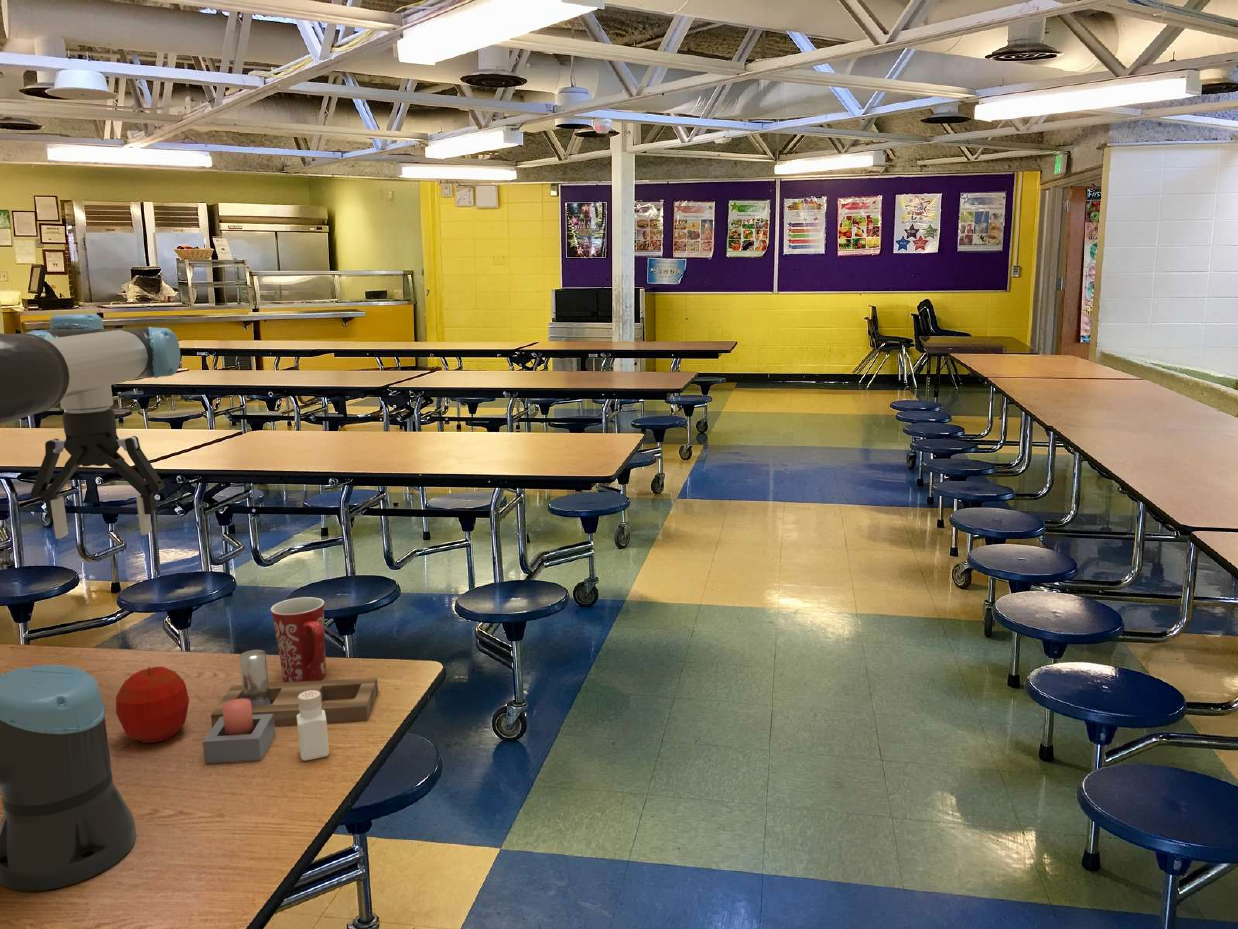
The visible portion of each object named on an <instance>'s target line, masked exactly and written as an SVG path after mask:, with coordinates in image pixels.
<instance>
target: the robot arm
mask: <svg viewBox="0 0 1238 929" xmlns="http://www.w3.org/2000/svg"><path fill="white" fill-rule="evenodd" d="M180 364H181V347H180V343H179V340H178V337H177V335H176V334H175V332H174V331H173V330H172V329H170V328H167V327H152V326H148V327H123V328H121V327H119V328H105V327H104V323H103V318H102V317H101V316H100V315H99V314H96V313H73V314H71V313H70V314H67V313H66V314H55V315H52V316H50V320H49V329H43V330H42V329H40V330H37V329H34V330H33V329H32V330H30V331H28V332H25V333H24V332H23V333H2V332H1V333H0V425H2V424H6V423H10V422H13V421H17V420H21V419H24V418H26V417H29V416H32V415H35V414H41V413H44V412H46V411H49V410H51V409H53V408H55V407H57V406H58V404H60V408H61V409H62V410H64V411H65V412H63V414H62V415H61V417H62V425H63V429H64V431H63V432H64V435H65V440H60V439H58V438H53V439H49V440H46V441H45V444H44V445H45V446H44V448H45V450H44V452H45V454H44V457H43V460H42V462H41V464H40V467H39V470H38V473H37V476H36V477H35V480H34V482H33V486H32V489H31V491H30V495H31V496H32V497H35V498H36V497H37V498H42V499H43V500H44V502H45V508H46V516H47V518H48V519H53V520H52V521H53V522H52V523H53V527H54V528H53V529H54V535H55V539H57V540H58V539H59V540H60V539H63V538H65V537H66V536H68V535H69V530H68V523H67V522H68V520H67V514H66V508H65V500H64V497H63V496H60V492H61V491H62V490H63V489H64V488H65V486H66V484H68V482H69V480H71V477H72V476H74V474H75V472H76V471H77V469H78V468H79V467H80V466H82V467H90V466H96V467H103V466H105V465H107V466H108V467H109V468H110V469H113V470H114V471H116V473H117V474H118V475H119V476H121V477H122V478H123V479H124V480H125V481H126V482H127V483H128V484H129V485H130V486H131V487H132V488H133V489H135V491H137V492H138V493H139V495H138V496H137V497H136V505H137V513H138V514H137V515H138V522H139V530H140V536H147V535H148V534H150V533H151V532H152V531H153V527H152V521H151V515H152V514H153V513H155V510H156V509H155V508H156V507H155V500H154V494H155V493H158V492H159V491H161V490H163V489H164V488H165V483H164V482H163V480H162V479H161V477H160V476H159V475H158V473H157V471H156V470H155V469H154V467H153V466H152V464H151V462H150V460H149V459H148V457H147V456H146V455H145V453H144V451H143V450H142V449H141V445H140V444H141V443H140V440H139V438H138V436H136V435H133V436H130V437H127V438H120V437H119V436H118V434H117V431H118V430H117V429H118V428H117V421H116V416H115V415H116V414H115V410H114V409H113V408H111V407H112V406H113V405H114V400H113V399H114V398H113V392H112V385H117V384H119V383H124V382H128V381H133V380H136V379H142V378H143V379H144V378H153V379H158V378H162V377H171V376H173V375H175V374H177V372H178V370H179V367H180ZM120 447H122V449H123V451H125V452H127V454H128V456H129V458H130V459H131V461H132V463H133V465H134V466H135V467H136V469H137V470H138V471H139V473H138V472H137V471H136V470H135V469H134V468H133V467H132V466H131V465H130V464H129V463H127V462H126V460H125V458H124V457H123V456H122V455H121V454H120V453H119V452H118V451H119V449H120ZM64 449H65V451H66V452H67V453H68V454H69V455H70V457H69V458H68V459H67V461H66V462H65V464H64V466H63V468H62V469H61V470H60V472H59V473H58V474H57V476H56V477H55V478H54V480H53V481H52V483H51V484H50V481H51V479H52V476H53V474H54V471H55V469H56V466H57V463H58V460H59V458H60V455H61V453H63V452H64ZM49 484H50V485H49ZM101 694H102V693H101V689H100V686H99V683H98V681H97V679H96V677H94V676H93V675H92V674H90V673H89V672H88V671H86V670H83V669H82V668H80V667H79V668H78V667H75V666H69V665H62V664H38V665H31V666H30V667H28V668H24V667H23V668H16V669H12V670H9V671H7V672H3V673H1V674H0V794H1V800H2V802H1V803H2V808H3V815H2V819H1V824H0V885H2V886H3V887H5V888H7V889H10V890H13V891H20V892H40V891H41V892H42V891H48V890H49V891H50V890H54V889H55V890H56V889H59V888H63V887H68V886H70V885H73V884H77V883H81V882H83V881H85V880H88V879H91V878H92V877H94V876H97V875H98V874H100V873H102V872H104V871H106V870H108V869H109V868H111V867H112V866H114V865H115V864H117V863H118V862H120V860H122V859H123V858H124V857H126V856H127V854H128V853H129V852H130V851H131V849H132V848H133V847H134V845H135V843H136V840H137V831H136V830H137V829H136V823H135V818H134V815H133V813H132V811H131V810H130V809H129V807H128V804H127V803H126V801H125V800H124V798H123V796H122V794H121V793H120V791H119V789H118V788H117V786H116V783H115V782H114V778H113V772H112V771H113V770H112V765H111V763H112V762H111V757H110V749H109V739H108V732H107V724H106V716H105V715H106V707H105V704H104V701H103V699H102V698H103V697H102V695H101Z"/></svg>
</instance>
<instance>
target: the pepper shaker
mask: <svg viewBox="0 0 1238 929" xmlns="http://www.w3.org/2000/svg"><path fill="white" fill-rule="evenodd" d="M322 703H323V701H322V702H321V693H320V692H319V691H316V690H309V691H305V692H302V693H301V694H299V696H298V704H299V709H300V713H299V714H298V715H297V725H296V727H297V734H298V735H297V736H298V737H297V738H298V745H299V746H298V747H299V754H300V758H301V760H302V761H310V760H316V759H321V758H325V757H328V756H329V754H330V748H329V737H328V736H329V735H328V723H327V721H326V715H325V711H324V710H321V706H322Z"/></svg>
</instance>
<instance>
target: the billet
mask: <svg viewBox="0 0 1238 929" xmlns="http://www.w3.org/2000/svg"><path fill="white" fill-rule="evenodd" d="M238 658H239V668H240V669H239V670H240V676H241V678H240V679H241V685H242V689H243V699H248V700H250V701H251V706H269V705H272V703H270V694H269V684H268V683H269V676H268V675H269V674H268V665H267V654H266V651H265V650H263V649H252V650H248V651H247V650H246V651H244V652H242V653H241V654H239V656H238Z"/></svg>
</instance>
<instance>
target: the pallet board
mask: <svg viewBox="0 0 1238 929" xmlns="http://www.w3.org/2000/svg"><path fill="white" fill-rule="evenodd" d="M268 684H269V694H270V704H271V705H269V706H251V708H252V715H260V714H274V724H275V727H278V726H279V727H281V726H295V725H296V726H297V715H298V714H299V713H300V709H299V704H298V696H299V694H301V693H302V692H305V691H309V690H316V691H319V692H320V693H321V702H322V706H321V710H324V711H325V715H326V721H327V724H330V723H331V724H333V723H335V724H336V723H349V722H353V723H354V722H367V721H368V720H369V716H370V714H371V711H372V709H373V707H374V703H375V701H376V698H377V696H378V693H379V684H378V677H361V678H345V679H344V678H342V679H324V680H322V679H320V680H318V681H302V682H284V681H283V682H268ZM234 699H243V689H242V684H233V685H231V686H230V688H229V689H228V690H227V692H226V693H225V695H224V696H223V697H222V699H221V700H220V701H219V703H218V704H217V706H216V707H214V709H213V711H212V712H211V714H210V719H211V720H210V721H211V729H212V728H213V726H214V725H215V723H216V722H217V721H218V719H219V718H220V717H223V710H222V706H223V704H225V703H226V702H228V701H231V700H234ZM342 699H343V700H344V699H354V700H344V701H328V702H327V701H326V700H342ZM324 700H325V702H324Z"/></svg>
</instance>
